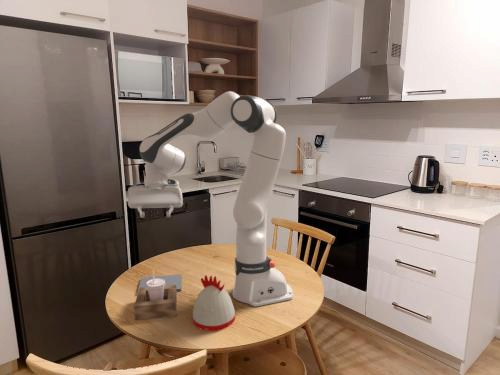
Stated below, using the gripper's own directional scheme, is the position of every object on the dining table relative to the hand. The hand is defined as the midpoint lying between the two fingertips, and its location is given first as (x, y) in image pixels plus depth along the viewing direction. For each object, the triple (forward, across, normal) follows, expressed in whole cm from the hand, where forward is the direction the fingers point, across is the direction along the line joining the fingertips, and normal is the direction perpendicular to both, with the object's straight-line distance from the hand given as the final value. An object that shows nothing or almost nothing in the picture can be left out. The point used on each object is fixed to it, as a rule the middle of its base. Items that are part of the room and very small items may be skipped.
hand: (155, 216), depth 136 cm
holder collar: (+31, +1, +9) cm, 32 cm away
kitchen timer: (+38, +20, +2) cm, 43 cm away
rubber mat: (+19, +2, +22) cm, 29 cm away
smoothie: (+31, +1, +10) cm, 33 cm away
